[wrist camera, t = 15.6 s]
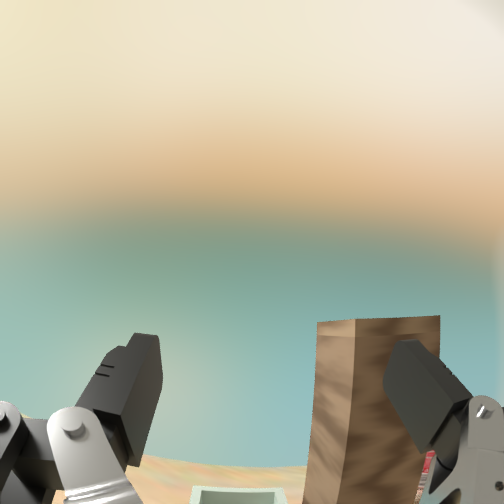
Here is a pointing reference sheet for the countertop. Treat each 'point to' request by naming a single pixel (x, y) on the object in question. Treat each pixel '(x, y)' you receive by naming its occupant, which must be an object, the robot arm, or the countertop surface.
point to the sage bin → (237, 495)
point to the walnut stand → (362, 414)
